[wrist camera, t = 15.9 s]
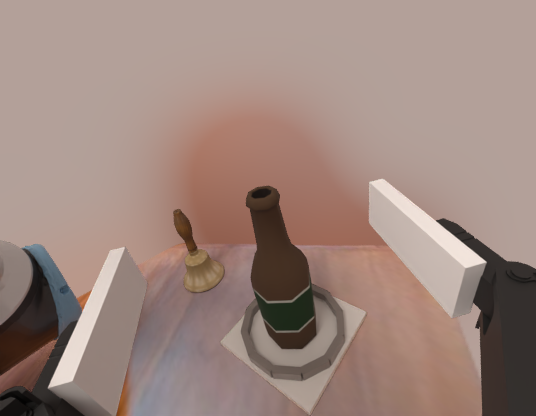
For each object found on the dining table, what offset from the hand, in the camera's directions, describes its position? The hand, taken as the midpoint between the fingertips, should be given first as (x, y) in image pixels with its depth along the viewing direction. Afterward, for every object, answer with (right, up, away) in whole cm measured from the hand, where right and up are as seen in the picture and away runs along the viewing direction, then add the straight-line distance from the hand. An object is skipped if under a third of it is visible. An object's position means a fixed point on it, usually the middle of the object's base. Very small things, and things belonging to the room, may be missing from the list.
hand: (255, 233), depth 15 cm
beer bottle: (+4, -17, +27) cm, 32 cm away
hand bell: (-12, -12, +41) cm, 45 cm away
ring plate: (+5, -17, +28) cm, 33 cm away
